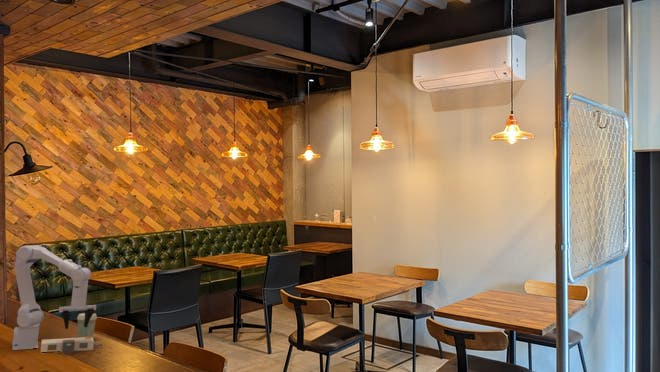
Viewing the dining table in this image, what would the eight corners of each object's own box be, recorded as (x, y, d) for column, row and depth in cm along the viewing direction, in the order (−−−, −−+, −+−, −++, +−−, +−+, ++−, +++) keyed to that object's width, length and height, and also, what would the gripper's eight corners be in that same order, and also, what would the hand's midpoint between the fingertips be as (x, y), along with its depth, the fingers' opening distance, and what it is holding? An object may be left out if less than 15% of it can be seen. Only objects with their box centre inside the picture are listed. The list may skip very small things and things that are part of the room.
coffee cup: (86, 343, 227) (89, 316, 228) (70, 341, 228) (73, 314, 229) (98, 339, 235) (101, 313, 236) (83, 337, 237) (85, 311, 238)
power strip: (40, 353, 207) (41, 342, 207) (40, 349, 213) (41, 338, 213) (103, 349, 219) (104, 338, 219) (101, 345, 225) (102, 335, 225)
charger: (62, 354, 207) (63, 342, 207) (61, 351, 212) (62, 339, 212) (73, 353, 209) (74, 341, 209) (73, 350, 214) (74, 338, 214)
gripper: (63, 298, 207) (60, 331, 206) (99, 296, 217) (96, 328, 216) (59, 295, 212) (55, 327, 211) (94, 294, 222) (91, 324, 221)
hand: (76, 327), depth 214 cm, fingers open, 7 cm apart
